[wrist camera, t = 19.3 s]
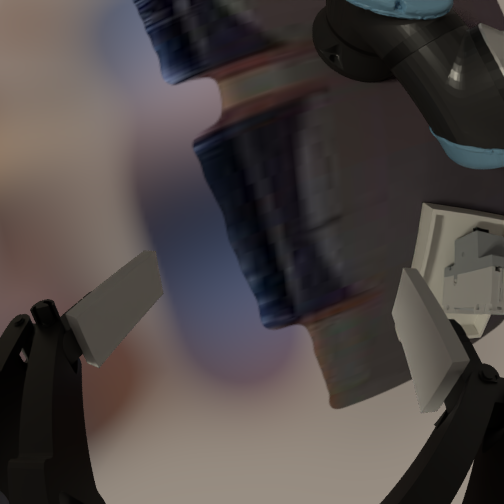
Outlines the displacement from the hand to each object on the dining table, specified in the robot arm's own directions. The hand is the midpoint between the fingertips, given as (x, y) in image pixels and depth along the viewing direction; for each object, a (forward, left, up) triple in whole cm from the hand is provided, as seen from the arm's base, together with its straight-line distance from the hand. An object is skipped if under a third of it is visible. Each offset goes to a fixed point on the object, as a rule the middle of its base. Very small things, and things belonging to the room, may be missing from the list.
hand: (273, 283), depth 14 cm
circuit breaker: (+14, +32, -30) cm, 46 cm away
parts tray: (+14, +32, -32) cm, 47 cm away
